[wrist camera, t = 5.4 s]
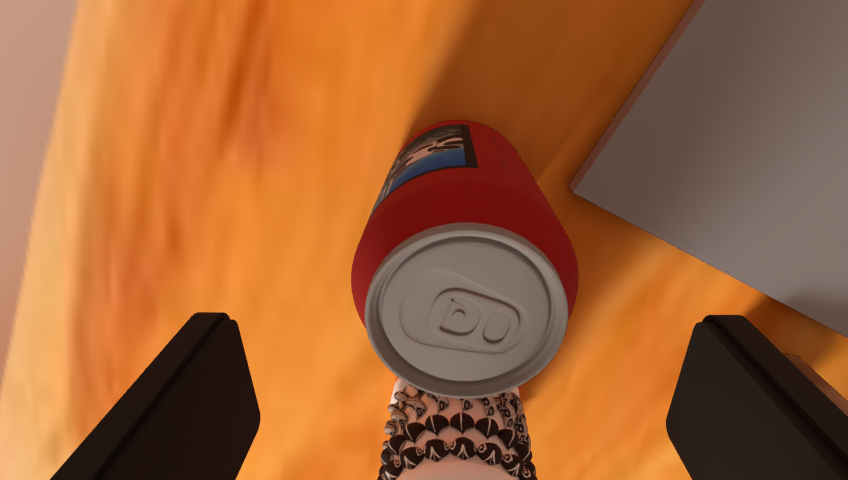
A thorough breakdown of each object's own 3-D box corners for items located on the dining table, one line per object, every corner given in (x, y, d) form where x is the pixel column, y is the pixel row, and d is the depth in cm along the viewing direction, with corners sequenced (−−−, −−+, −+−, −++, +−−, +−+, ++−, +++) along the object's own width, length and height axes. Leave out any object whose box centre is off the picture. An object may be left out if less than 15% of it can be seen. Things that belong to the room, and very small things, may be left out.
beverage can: (412, 96, 21) (374, 162, 10) (545, 142, 21) (648, 250, 10) (375, 222, 24) (314, 381, 13) (494, 259, 24) (532, 441, 13)
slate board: (1120, 76, 19) (1154, 79, 18) (835, 328, 25) (850, 339, 24) (802, -158, 16) (823, -170, 15) (567, 186, 22) (572, 192, 21)
